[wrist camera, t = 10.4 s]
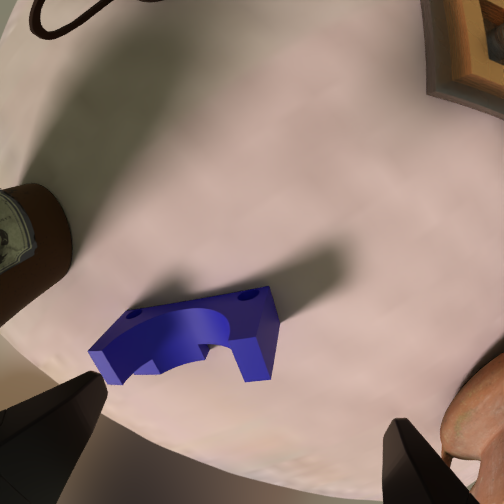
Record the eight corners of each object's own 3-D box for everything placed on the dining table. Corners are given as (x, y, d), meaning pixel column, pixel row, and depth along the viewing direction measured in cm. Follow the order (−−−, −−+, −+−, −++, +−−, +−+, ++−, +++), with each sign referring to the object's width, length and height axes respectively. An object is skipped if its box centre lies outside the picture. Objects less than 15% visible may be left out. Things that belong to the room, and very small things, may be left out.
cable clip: (149, 353, 24) (117, 399, 19) (127, 309, 23) (87, 351, 18) (285, 338, 22) (277, 397, 16) (269, 284, 20) (255, 336, 15)
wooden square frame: (520, 24, 9) (538, 16, 7) (531, 112, 11) (553, 111, 9) (440, -13, 10) (455, -28, 7) (451, 80, 12) (471, 73, 10)
